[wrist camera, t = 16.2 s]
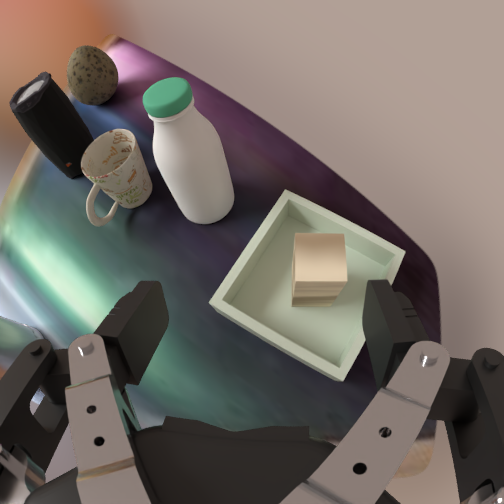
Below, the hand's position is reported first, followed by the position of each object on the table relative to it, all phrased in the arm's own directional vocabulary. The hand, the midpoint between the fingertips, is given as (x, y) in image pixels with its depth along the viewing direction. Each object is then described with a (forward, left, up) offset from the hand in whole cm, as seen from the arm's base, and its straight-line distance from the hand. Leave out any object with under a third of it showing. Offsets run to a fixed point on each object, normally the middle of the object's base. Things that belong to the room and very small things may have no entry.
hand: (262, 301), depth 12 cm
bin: (+8, 0, -25) cm, 26 cm away
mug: (+6, +29, -25) cm, 39 cm away
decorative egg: (+23, +56, -25) cm, 66 cm away
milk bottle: (+12, +18, -25) cm, 33 cm away
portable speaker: (+8, +45, -25) cm, 52 cm away
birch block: (+8, 0, -24) cm, 25 cm away
